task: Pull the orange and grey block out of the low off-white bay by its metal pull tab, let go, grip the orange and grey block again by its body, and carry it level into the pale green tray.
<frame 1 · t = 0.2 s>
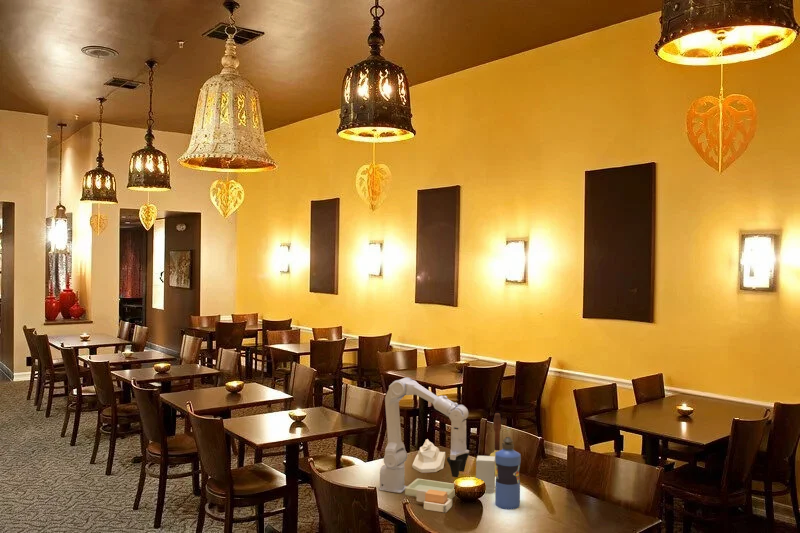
hand: (458, 474, 249), 10 cm above the table, tool pointing down, fingers open, 7 cm apart
water bottle: (507, 505, 244), on the table
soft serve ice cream: (429, 469, 288), on the table
tray: (432, 492, 257), on the table
bay: (436, 507, 241), on the table
supplement box: (485, 490, 261), on the table
orange and grey block: (431, 499, 242), in the bay
handbell: (496, 471, 286), on the table
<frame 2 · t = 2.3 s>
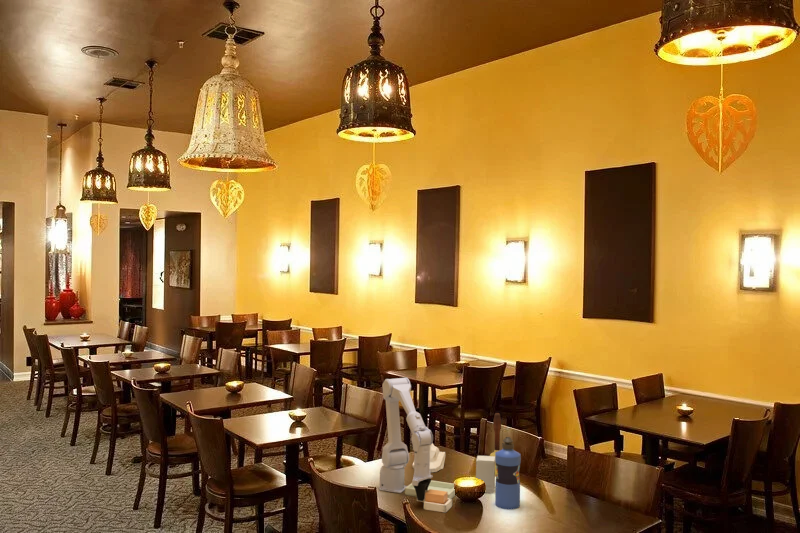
hand: (421, 499, 244), 2 cm above the table, tool pointing down, fingers closed on orange and grey block
orange and grey block: (431, 499, 242), in the bay, touching gripper
everything else where it was.
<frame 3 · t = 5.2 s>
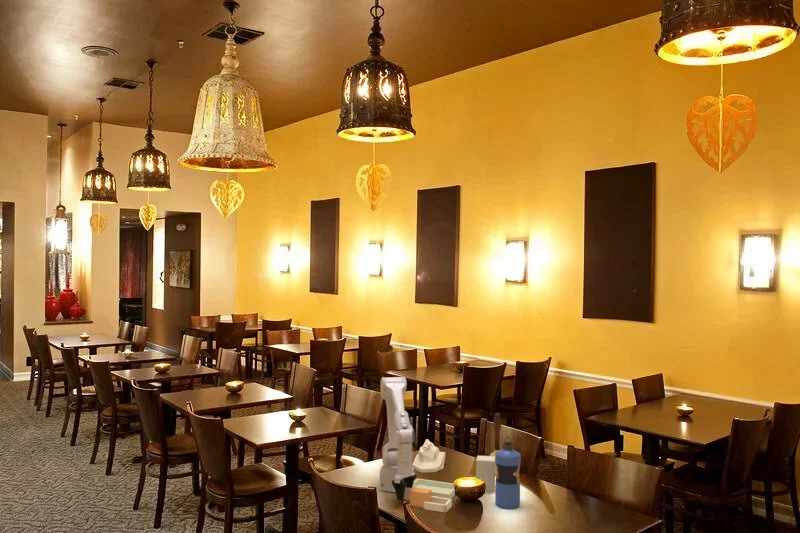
hand: (404, 496, 246), 2 cm above the table, tool pointing down, fingers open, 7 cm apart
orange and grey block: (415, 496, 245), on the table
everything else where it was.
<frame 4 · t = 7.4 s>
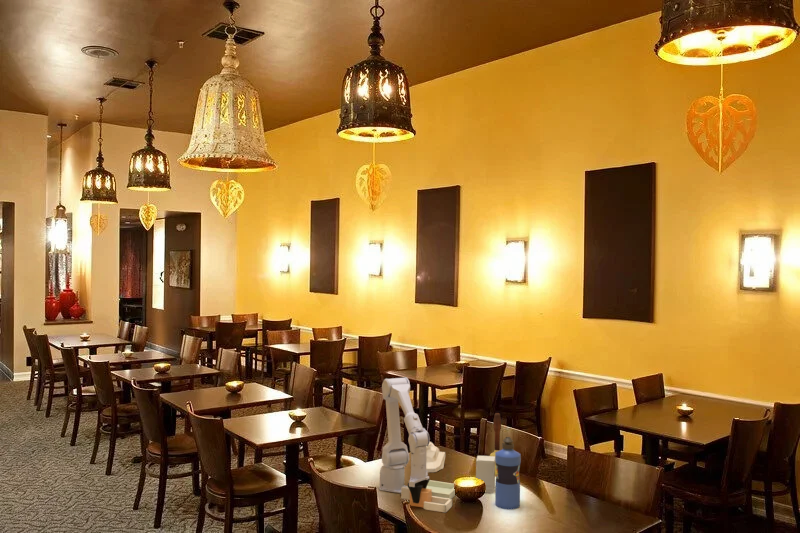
hand: (418, 500, 244), 1 cm above the table, tool pointing down, fingers closed on orange and grey block, 4 cm apart
orange and grey block: (415, 496, 245), on the table, touching gripper
everything else where it was.
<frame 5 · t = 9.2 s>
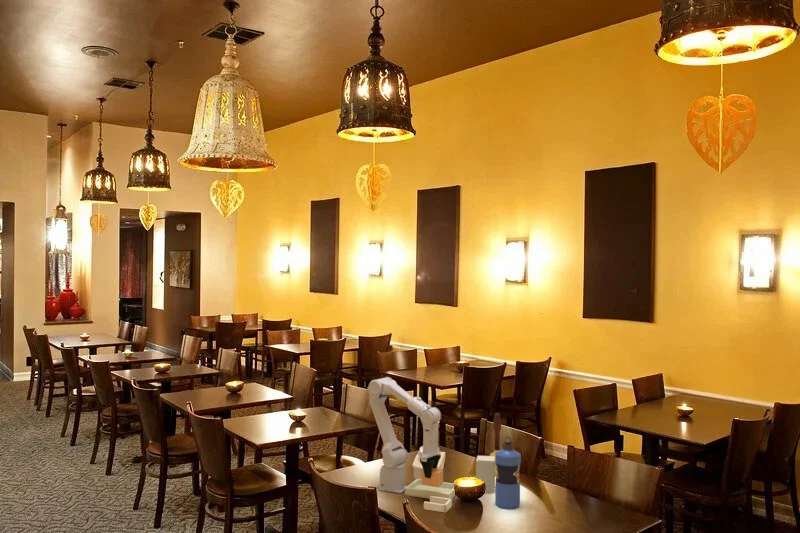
hand: (430, 475, 252), 8 cm above the table, tool pointing down, fingers closed on orange and grey block, 4 cm apart
orange and grey block: (427, 476, 252), point 8 cm above the table, touching gripper
everything else where it was.
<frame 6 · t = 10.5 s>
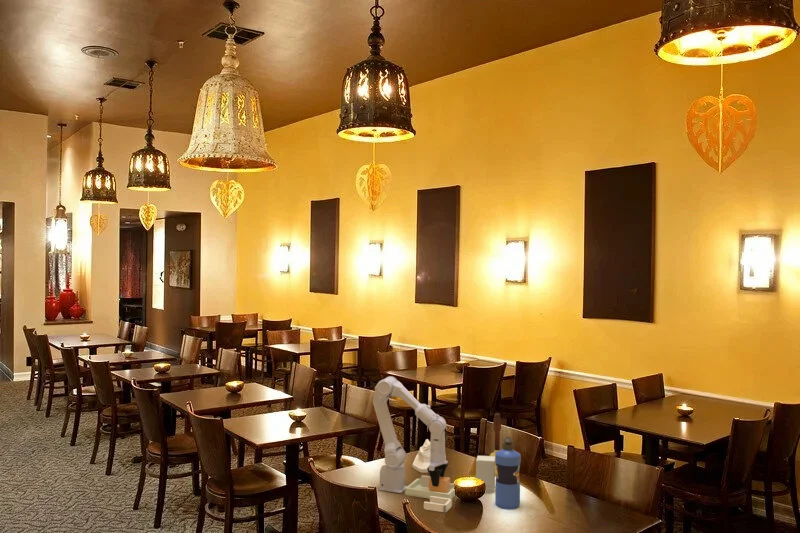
hand: (437, 484, 256), 4 cm above the table, tool pointing down, fingers closed on orange and grey block, 4 cm apart
orange and grey block: (434, 484, 257), in the tray, point 3 cm above the table, touching gripper
everything else where it was.
when the fingers open (4 cm above the table, at t = 10.9 s): orange and grey block stays where it is, resting on tray.
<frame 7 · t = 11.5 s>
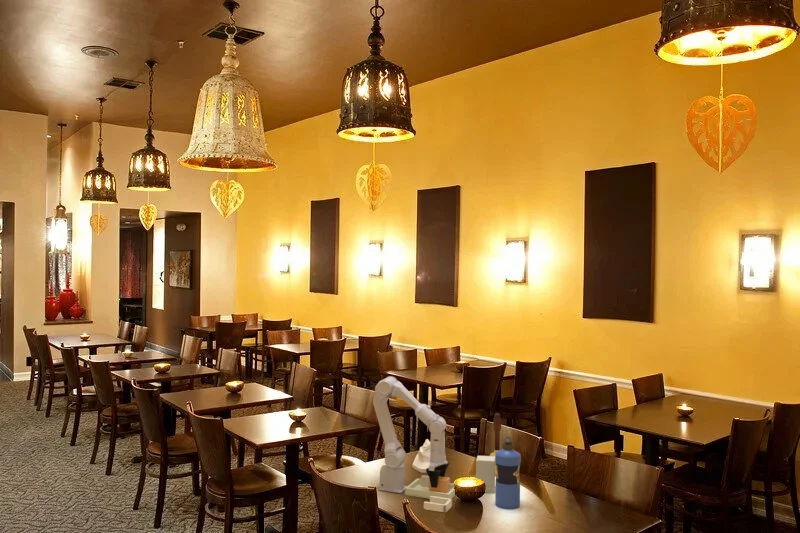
hand: (437, 484, 256), 4 cm above the table, tool pointing down, fingers open, 7 cm apart
orange and grey block: (434, 484, 257), in the tray, point 3 cm above the table
everything else where it was.
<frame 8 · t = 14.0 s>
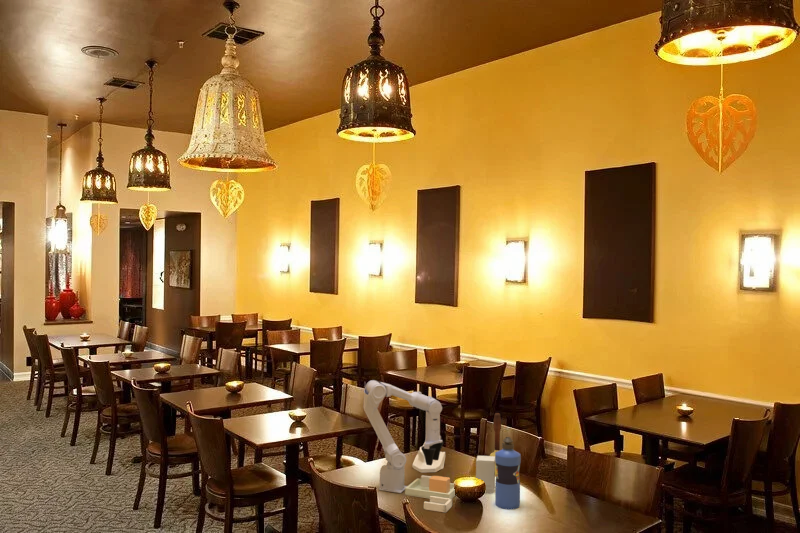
hand: (432, 462, 265), 9 cm above the table, tool pointing down, fingers open, 7 cm apart
nothing on the table moved.
at the end: orange and grey block 0.9 cm from the target spot on the tray, point 3.3 cm above the tray's base; orange and grey block tilted 0°; the gripper is holding nothing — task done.
